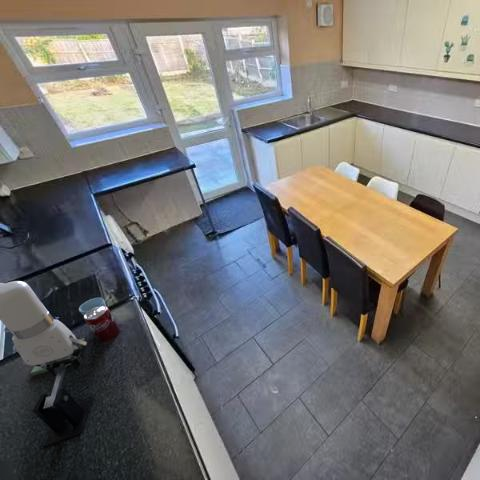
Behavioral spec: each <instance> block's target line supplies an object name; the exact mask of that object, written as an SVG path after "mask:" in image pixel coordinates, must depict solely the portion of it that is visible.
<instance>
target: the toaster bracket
mask: <svg viewBox="0 0 480 480" xmlns="http://www.w3.org/2000/svg"><path fill="white" fill-rule="evenodd" d="M46 397H49V395H47V394H46V393H42V394H40V396H39V398H38V400H37V402H36V404H35V405H34V408H33V410H32V412H33V413H34V414H35V415H36V416H37V417H38V418H39V419H41V420H42V422H43V423H44V424H46V425H47V426H48V428H49V429H50V431H49V432H48V435H47V437H46V440H45V441H44V444H43V448H47V447H49V446H52V445H54V444H57V443H60V442H62V441H65V440H68V439H70V438H74V437H76V436H80V435H81V434H82V433H83V429H84V427H85V424H86V421H87V418H88V415H89V413H90V409H91V407H92V404H93V400H94V399H93V398H89V399H86V400H83V401H80V402H78V401H77V400H76V399H75V398H74V397H73V396H72V395H71V394H70V393H69V392H68V390H67V389H66V388H65V387H60V389H59V391H58V394H57V396H56V398H55V400H54V402H53V406H54V407H55V408H56V409H55V410H52V411H47V410H45V409H43V407H44V403H45V400H46Z"/></svg>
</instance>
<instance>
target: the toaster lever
mask: <svg viewBox="0 0 480 480" xmlns="http://www.w3.org/2000/svg"><path fill="white" fill-rule="evenodd" d="M70 360H71V359H65V360H62V361H58V362H55V363H54V364H53V367H54V368H56V367H59V370H58V373H57V376H56V377H55V381H54V384H53V387H52V391H51V395H50V396H49V395H48V397H46V400H45V403H44V407H43V409H45V410H47V411H52V410H55V409H56V408H55V407H54V406H53V402H54V400H55V398H56V396H57V394H58V391H59V389H61V388H62V383H63V380H64V375H65V372H66V368H67V366H68V365H67V364H70ZM66 365H67V366H66ZM70 365H71V364H70Z"/></svg>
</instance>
